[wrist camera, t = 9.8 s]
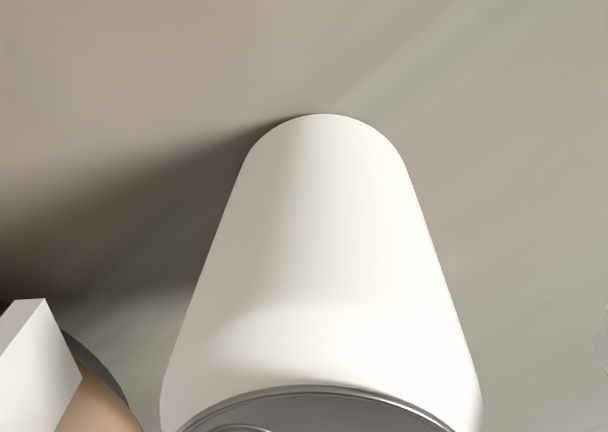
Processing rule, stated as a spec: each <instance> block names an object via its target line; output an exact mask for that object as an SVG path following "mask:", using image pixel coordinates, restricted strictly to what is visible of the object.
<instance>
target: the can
mask: <svg viewBox="0 0 608 432" xmlns="http://www.w3.org/2000/svg"><path fill="white" fill-rule="evenodd" d="M159 407H160V423H161V430H162V432H482V429H483V417H484V410H483V401H482V396H481V391H480V386H479V382H478V379H477V375H476V372H475V369H474V365H473V362H472V359H471V356H470V353H469V349H468V346H467V343H466V340H465V337H464V334H463V331H462V328H461V325H460V322H459V319H458V316H457V313H456V310H455V308H454V305H453V302H452V299H451V296H450V293H449V290H448V287H447V284H446V281H445V278H444V275H443V272H442V269H441V266H440V264H439V261H438V258H437V255H436V252H435V249H434V246H433V243H432V240H431V237H430V234H429V232H428V229H427V226H426V223H425V220H424V217H423V214H422V211H421V209H420V206H419V203H418V200H417V197H416V194H415V192H414V189H413V186H412V183H411V180H410V178H409V175H408V172H407V170H406V167H405V165H404V163H403V161H402V159H401V157H400V155H399V154H398V152H397V151H396V149H395V148H394V146H393V145H392V144H391V143H390V142H389V141H388V140H387V139H386V138H385V137H384V136H383V135H382V134H381V133H379V132H378V131H377V130H375V129H374V128H372V127H371V126H369V125H367V124H365V123H363V122H361V121H358V120H356V119H353V118H349V117H346V116H341V115H334V114H313V115H306V116H301V117H298V118H294V119H291V120H289V121H286V122H284V123H282V124H280V125H278V126H277V127H275V128H273V129H272V130H270V131H269V132H268V133H266V134H265V135H264V136H263V137H262V138H260V139H259V140H258V141H257V142H256V143H255V144H254V146H253V147H252V148H251V150H250V151H249V153H248V154H247V156H246V158H245V160H244V163H243V165H242V167H241V170H240V172H239V175H238V177H237V180H236V182H235V185H234V187H233V190H232V193H231V195H230V198H229V200H228V203H227V206H226V208H225V211H224V214H223V216H222V219H221V221H220V224H219V227H218V229H217V232H216V235H215V237H214V240H213V243H212V245H211V248H210V251H209V253H208V256H207V259H206V261H205V264H204V267H203V269H202V272H201V275H200V277H199V280H198V283H197V286H196V288H195V291H194V294H193V296H192V299H191V302H190V304H189V307H188V310H187V313H186V315H185V318H184V321H183V324H182V326H181V329H180V332H179V335H178V337H177V340H176V343H175V346H174V349H173V351H172V354H171V357H170V361H169V364H168V367H167V370H166V373H165V376H164V380H163V385H162V389H161V394H160V405H159Z"/></svg>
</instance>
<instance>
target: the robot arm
mask: <svg viewBox="0 0 608 432" xmlns="http://www.w3.org/2000/svg"><path fill="white" fill-rule="evenodd" d="M594 355H595V357H596V358H597V360H598V362H599V363H600V365H601V366H602V368H603V370H604V371H605V373H606V374H607V376H608V303H607V307H606V311H605V315H604V318H603V322H602V326H601V330H600V334H599V338H598V342H597V346H596V350H595V354H594ZM81 380H82V376H81V373H80V371H79V369H78V367H77V365H76V363H75V361H74V359H73V357H72V355H71V353H70V350H69V348H68V346H67V344H66V342H65V340H64V338H63V336H62V334H61V332H60V329H59V327H58V325H57V323H56V321H55V319H54V317H53V315H52V313H51V311H50V309H49V306H48V304H47V302H46V300H45V298H42V299H25V300H14V302H13V303H12V304H11V305H10V306H9V308H8V309H7V310H6V311H5V312H4V314H3V315H2V316H1V317H0V432H54V430H55V428H56V426H57V425H58V423H59V421H60V419H61V417H62V415H63V413H64V412H65V410H66V408H67V406H68V404H69V402H70V401H71V399H72V397H73V395H74V393H75V391H76V389H77V388H78V386H79V384H80V382H81Z"/></svg>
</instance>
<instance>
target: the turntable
mask: <svg viewBox="0 0 608 432" xmlns="http://www.w3.org/2000/svg"><path fill="white" fill-rule="evenodd" d="M0 317H1V316H0ZM72 357H73V356H72ZM73 359H74V361H75V363H76V365H77V367H78V369H79V371H80V373H81V376H82V380H81V382H80V384H79V386H78V388H77V389H76V391H75V393H74V395H73V397H72V399H71V401H70V402H69V404H68V406H67V408H66V410H65V412H64V413H63V415H62V417H61V419H60V421H59V423H58V425H57V426H56V428H55V430H54V432H144V431H143V429H142V427H141V426H140V424H139V422H138V420H137V419H136V418H135V416H134V415H133V414H132V412H131V411H130V410H129V408H128V407H127V406H126V404H125V403H124V402H123V401H122V400H121V398H120V397H119V396H118V395H117V394H116V393H115V392H114V391H113V390H112V389H111V388H110V387H109V386H108V385H107V384H106V383H105V382H104V381H103V380H102V379H101V378H99V377H98V376H97V375H96V374H95V373H93V372H92V371H91V370H90V369H89V368H88V367H86V366H85V365H84V364H83V363H81V362H80V361H78V360H77V359H76V358H74V357H73Z"/></svg>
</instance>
